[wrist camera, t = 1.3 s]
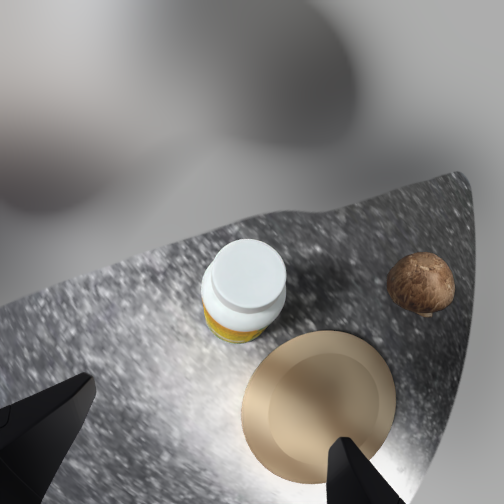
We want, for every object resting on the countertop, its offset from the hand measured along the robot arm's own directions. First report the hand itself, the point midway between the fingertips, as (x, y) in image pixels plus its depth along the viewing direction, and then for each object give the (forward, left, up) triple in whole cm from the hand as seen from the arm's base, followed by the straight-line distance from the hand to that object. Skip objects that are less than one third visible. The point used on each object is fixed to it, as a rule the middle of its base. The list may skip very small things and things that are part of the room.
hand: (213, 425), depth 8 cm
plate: (+4, -8, -13) cm, 16 cm away
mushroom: (+19, -11, -13) cm, 26 cm away
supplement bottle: (+7, +3, -13) cm, 15 cm away
